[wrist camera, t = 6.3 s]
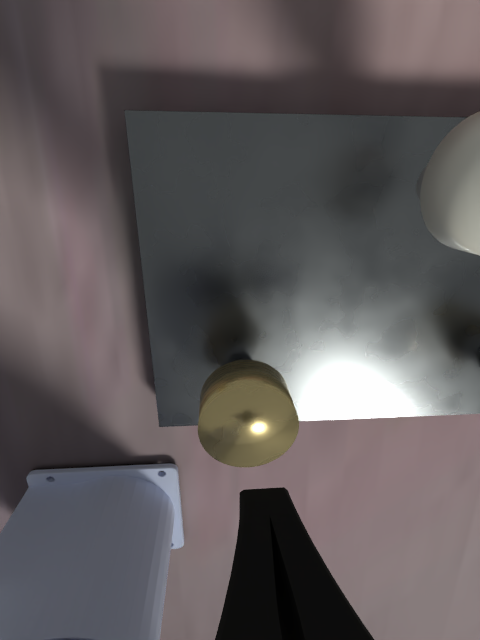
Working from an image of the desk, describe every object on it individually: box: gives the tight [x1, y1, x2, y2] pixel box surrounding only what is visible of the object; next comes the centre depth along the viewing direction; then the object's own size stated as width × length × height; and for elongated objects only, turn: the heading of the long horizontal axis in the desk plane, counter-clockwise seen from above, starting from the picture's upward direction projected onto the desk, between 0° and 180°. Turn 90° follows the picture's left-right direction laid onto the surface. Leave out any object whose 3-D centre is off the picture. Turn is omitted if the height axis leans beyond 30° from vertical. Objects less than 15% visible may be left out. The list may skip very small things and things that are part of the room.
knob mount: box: [124, 110, 480, 427], centre depth 17 cm, size 23×15×2 cm, turn 90°
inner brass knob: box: [198, 358, 299, 467], centre depth 15 cm, size 4×4×4 cm
